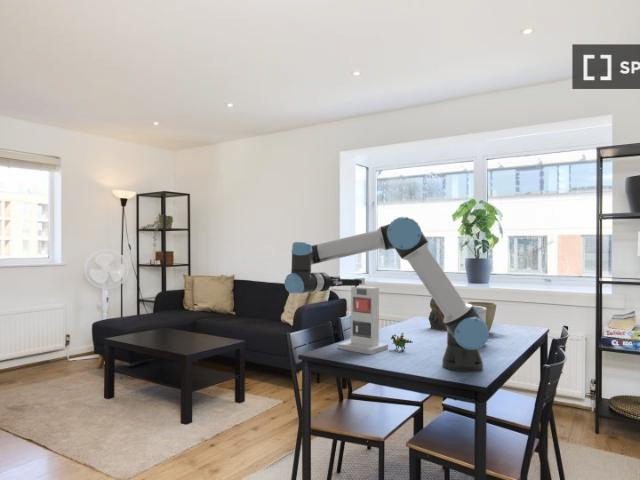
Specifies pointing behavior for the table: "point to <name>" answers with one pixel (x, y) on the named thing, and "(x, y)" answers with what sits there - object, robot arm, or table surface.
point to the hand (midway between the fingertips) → (351, 280)
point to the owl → (436, 317)
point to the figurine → (400, 341)
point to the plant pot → (487, 311)
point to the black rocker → (362, 329)
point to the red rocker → (362, 305)
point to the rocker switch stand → (365, 322)
